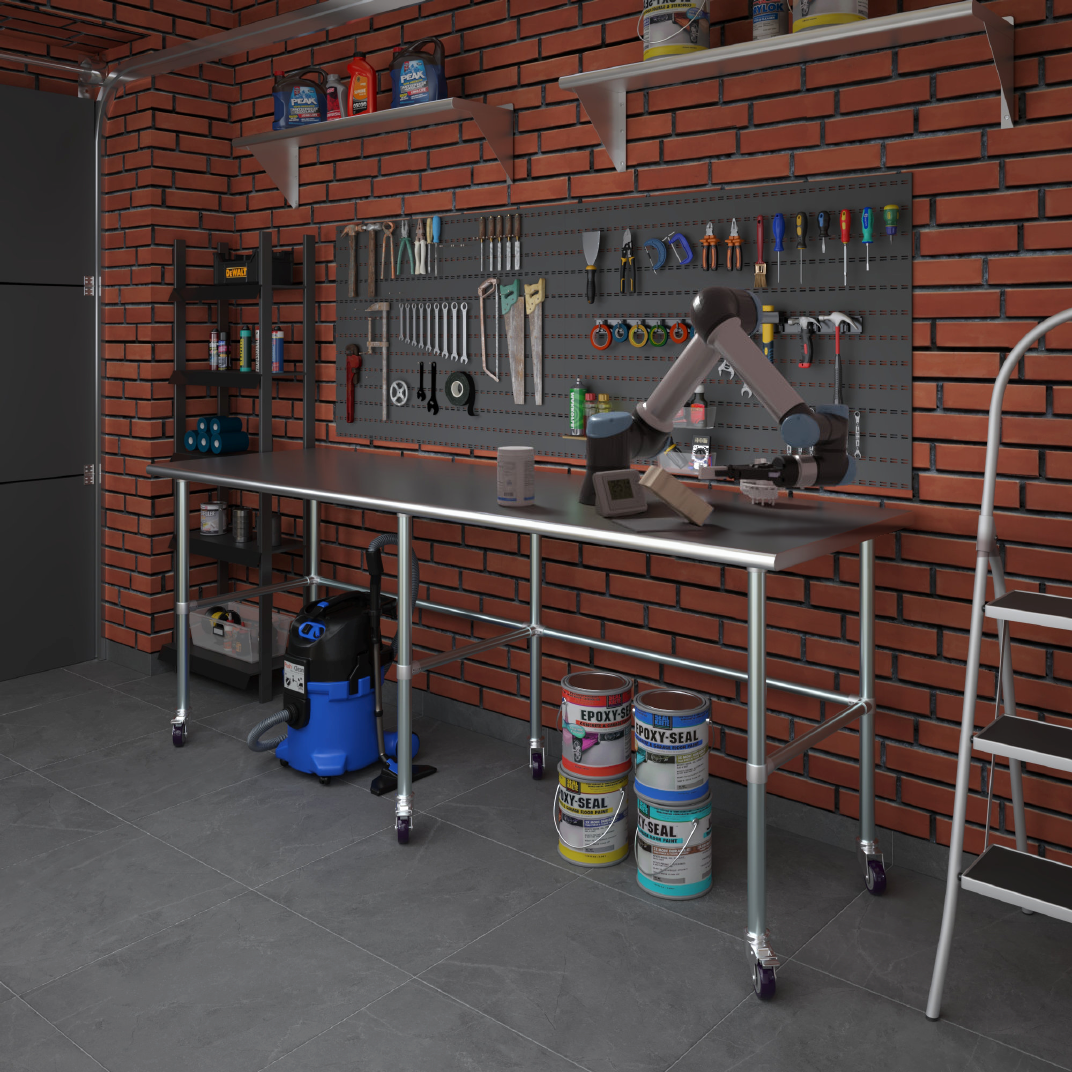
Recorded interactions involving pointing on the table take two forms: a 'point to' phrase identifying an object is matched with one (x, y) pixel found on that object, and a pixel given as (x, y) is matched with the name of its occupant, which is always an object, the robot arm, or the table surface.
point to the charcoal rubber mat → (656, 524)
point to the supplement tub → (515, 476)
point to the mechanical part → (760, 488)
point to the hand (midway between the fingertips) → (700, 472)
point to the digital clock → (619, 493)
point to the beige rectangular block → (676, 495)
